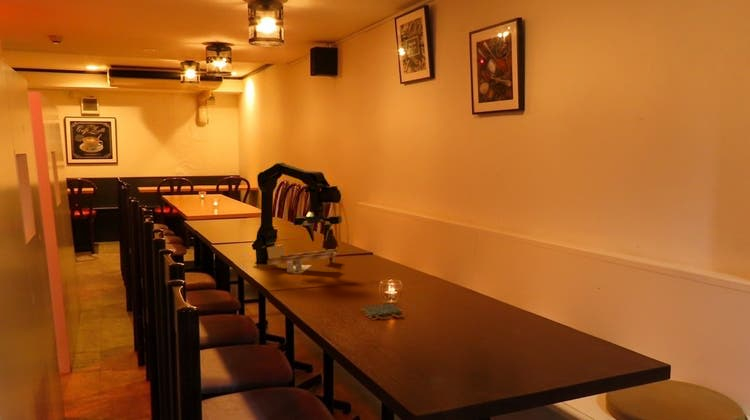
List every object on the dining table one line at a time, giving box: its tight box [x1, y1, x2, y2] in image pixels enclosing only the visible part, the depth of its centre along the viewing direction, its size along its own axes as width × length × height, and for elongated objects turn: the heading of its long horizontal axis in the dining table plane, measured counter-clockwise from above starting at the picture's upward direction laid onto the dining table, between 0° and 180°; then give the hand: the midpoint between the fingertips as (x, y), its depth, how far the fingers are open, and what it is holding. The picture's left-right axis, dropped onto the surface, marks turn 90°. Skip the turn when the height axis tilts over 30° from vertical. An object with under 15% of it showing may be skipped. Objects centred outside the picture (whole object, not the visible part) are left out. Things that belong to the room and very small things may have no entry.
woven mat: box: [361, 302, 405, 321], centre depth 176 cm, size 10×11×2 cm
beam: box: [266, 248, 339, 266], centre depth 240 cm, size 28×8×2 cm, turn 80°
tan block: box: [267, 243, 285, 260], centre depth 242 cm, size 5×5×6 cm
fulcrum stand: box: [286, 261, 313, 275], centre depth 241 cm, size 10×16×5 cm, turn 170°
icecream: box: [321, 228, 339, 263], centre depth 257 cm, size 7×7×15 cm
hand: (319, 241), depth 238 cm, fingers open, 5 cm apart
